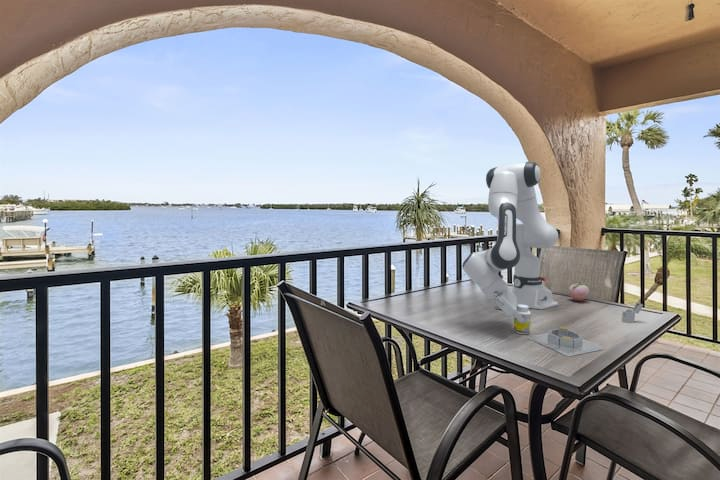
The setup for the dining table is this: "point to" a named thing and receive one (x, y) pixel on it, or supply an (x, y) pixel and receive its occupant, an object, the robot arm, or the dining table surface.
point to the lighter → (631, 314)
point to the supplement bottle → (525, 325)
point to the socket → (565, 342)
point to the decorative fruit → (578, 291)
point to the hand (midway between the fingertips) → (522, 317)
